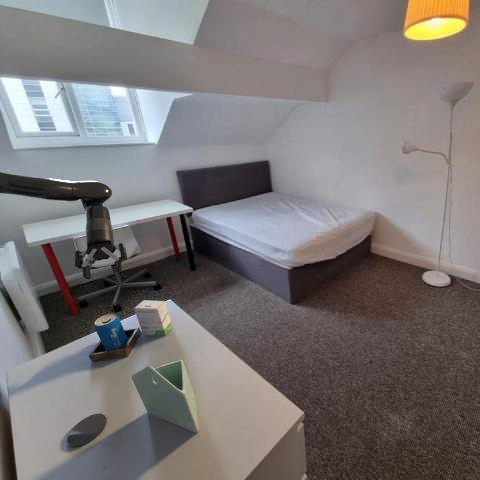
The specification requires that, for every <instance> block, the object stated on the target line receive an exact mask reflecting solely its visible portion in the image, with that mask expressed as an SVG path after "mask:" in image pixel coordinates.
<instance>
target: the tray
mask: <svg viewBox="0 0 480 480" xmlns="http://www.w3.org/2000/svg"><path fill="white" fill-rule="evenodd" d="M123 329H124V331H125V333H126V335H127V338H128V340H129V341H128V342H127V344H126V345H125V347H124V349H118V350H112V351H106V350H105V348H104V346H103V344H102V342H101V340H100V339H99V341H98V342H97V343H96V344H95V346H94V347H93V349H92V350H91V352H90V353H89V354H88V358H89V360H90V361H91V363H96V362H103V361H104V362H105V361H110V360H117V359H122V358H128V357H129V356H130V354H131V353H132V351H133V349H134V347H135V346H136V344H137V343H138V341H139V340H140V337H141V335H143V333H142V330H141V327H140V326H137V327H132V328H123Z"/></svg>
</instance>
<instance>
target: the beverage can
mask: <svg viewBox="0 0 480 480" xmlns="http://www.w3.org/2000/svg"><path fill="white" fill-rule="evenodd" d="M124 329H125V328H124V327H123V324H122V322H121V319H120V317H119V316H118V315H117V314H115V313H107V314H104V315H101V316H100V317H98V318H97V319H96V320H95V321H94V330H95V332H96V334H97V335H98V338H99V341H100V340H101V342H102V344H103V346H104V348H105V351H112V350H118V349H124V347H125V345H126V344H127V342H128V341H129V338H127V335H126V333H125V331H124Z"/></svg>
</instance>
